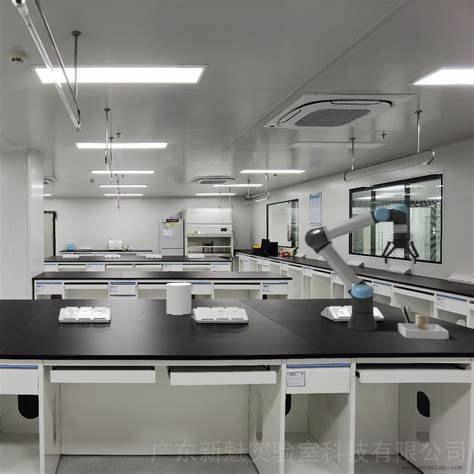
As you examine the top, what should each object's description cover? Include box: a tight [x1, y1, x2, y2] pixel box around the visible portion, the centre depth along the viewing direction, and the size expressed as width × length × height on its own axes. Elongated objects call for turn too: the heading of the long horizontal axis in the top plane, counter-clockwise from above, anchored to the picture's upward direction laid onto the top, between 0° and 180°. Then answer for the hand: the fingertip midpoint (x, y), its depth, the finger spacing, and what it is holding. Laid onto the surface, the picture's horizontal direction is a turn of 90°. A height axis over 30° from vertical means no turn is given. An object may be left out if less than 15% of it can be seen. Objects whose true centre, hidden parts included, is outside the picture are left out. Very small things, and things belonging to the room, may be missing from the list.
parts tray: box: [397, 322, 450, 340], centre depth 220 cm, size 20×18×4 cm
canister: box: [165, 282, 192, 315], centre depth 278 cm, size 16×16×20 cm
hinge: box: [401, 305, 416, 324], centre depth 259 cm, size 17×5×10 cm, turn 157°
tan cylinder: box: [415, 313, 429, 330], centre depth 220 cm, size 5×5×9 cm
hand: (400, 269), depth 243 cm, fingers open, 13 cm apart
